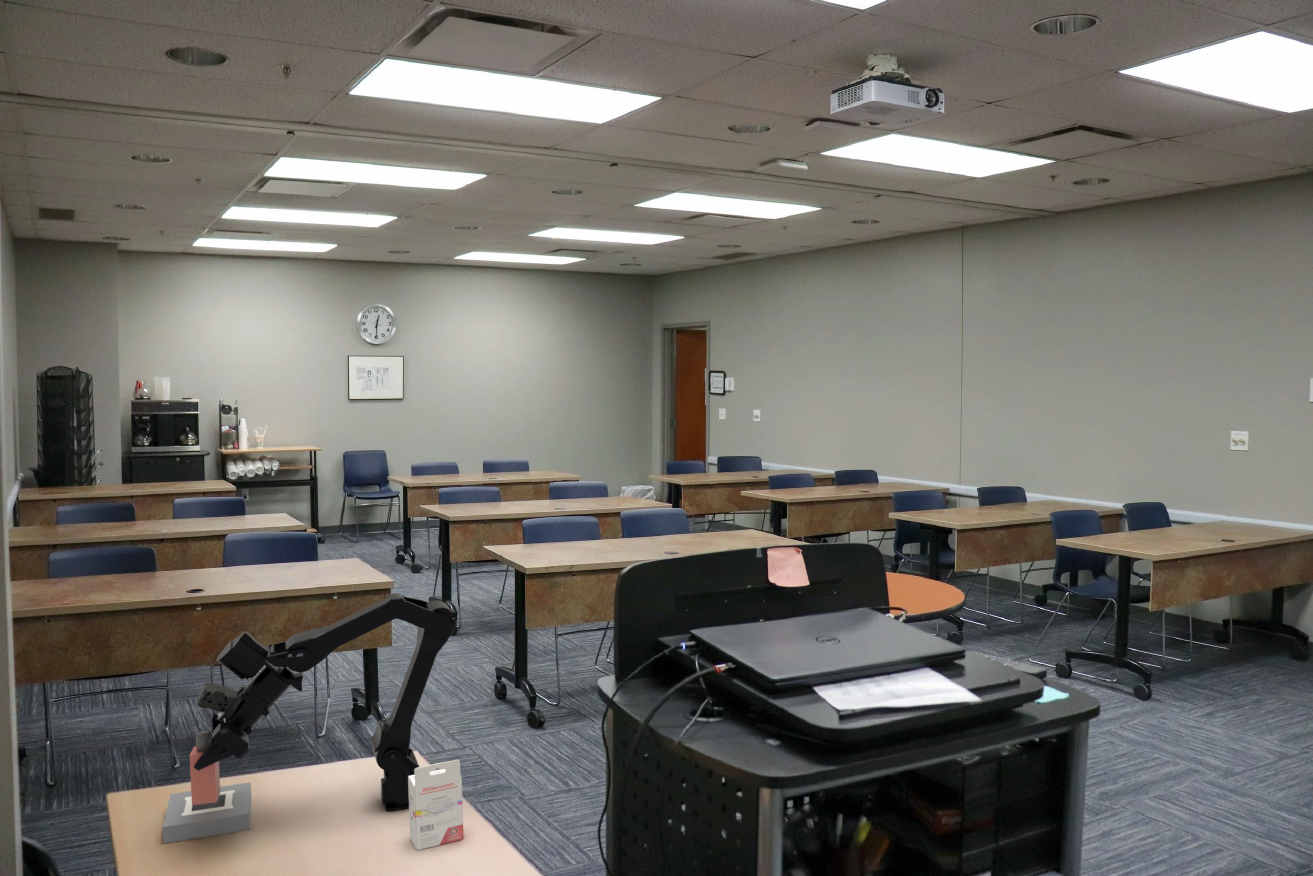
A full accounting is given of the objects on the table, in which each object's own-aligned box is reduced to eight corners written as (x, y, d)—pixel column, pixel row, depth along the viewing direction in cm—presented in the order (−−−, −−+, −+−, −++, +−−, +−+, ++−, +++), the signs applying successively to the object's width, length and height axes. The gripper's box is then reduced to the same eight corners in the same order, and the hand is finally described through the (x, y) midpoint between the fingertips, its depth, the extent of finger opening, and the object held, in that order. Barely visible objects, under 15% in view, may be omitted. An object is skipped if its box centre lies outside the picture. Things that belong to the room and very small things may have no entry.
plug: (220, 792, 175) (217, 728, 174) (216, 802, 171) (213, 736, 170) (196, 795, 174) (193, 730, 173) (191, 805, 170) (188, 738, 169)
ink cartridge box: (456, 828, 176) (454, 749, 175) (464, 840, 172) (462, 759, 170) (408, 839, 172) (406, 758, 171) (415, 851, 168) (413, 769, 167)
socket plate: (251, 797, 189) (250, 781, 188) (249, 829, 176) (248, 812, 175) (171, 809, 184) (170, 793, 183) (163, 843, 171) (162, 826, 170)
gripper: (226, 652, 181) (163, 719, 178) (224, 683, 164) (154, 757, 160) (273, 688, 185) (212, 754, 181) (276, 722, 167) (208, 795, 164)
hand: (196, 763), depth 172 cm, fingers closed on plug, 4 cm apart
